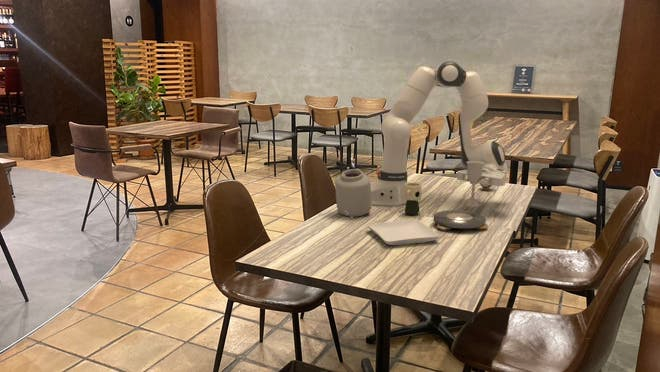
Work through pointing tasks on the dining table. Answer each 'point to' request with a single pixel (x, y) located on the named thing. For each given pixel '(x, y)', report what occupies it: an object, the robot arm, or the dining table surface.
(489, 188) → the cup
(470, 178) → the chalice
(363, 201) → the jar
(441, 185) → the dining table surface
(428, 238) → the salad plate
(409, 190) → the character mug
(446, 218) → the plate
